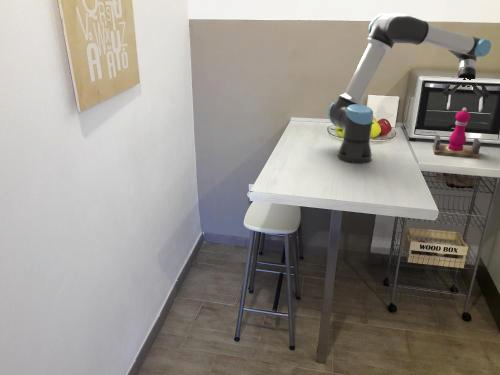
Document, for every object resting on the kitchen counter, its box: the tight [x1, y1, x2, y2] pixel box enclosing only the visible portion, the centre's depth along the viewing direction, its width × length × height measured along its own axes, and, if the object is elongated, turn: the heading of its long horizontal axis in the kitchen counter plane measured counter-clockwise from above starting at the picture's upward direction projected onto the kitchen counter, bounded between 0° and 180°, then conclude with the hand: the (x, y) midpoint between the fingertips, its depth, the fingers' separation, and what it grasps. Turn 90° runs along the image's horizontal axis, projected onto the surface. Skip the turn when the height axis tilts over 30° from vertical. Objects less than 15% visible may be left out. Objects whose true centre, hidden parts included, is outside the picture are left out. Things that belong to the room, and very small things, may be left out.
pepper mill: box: [448, 107, 471, 151], centre depth 188 cm, size 7×7×20 cm
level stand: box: [431, 134, 482, 160], centre depth 192 cm, size 19×12×6 cm, turn 71°
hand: (464, 109), depth 187 cm, fingers open, 13 cm apart
